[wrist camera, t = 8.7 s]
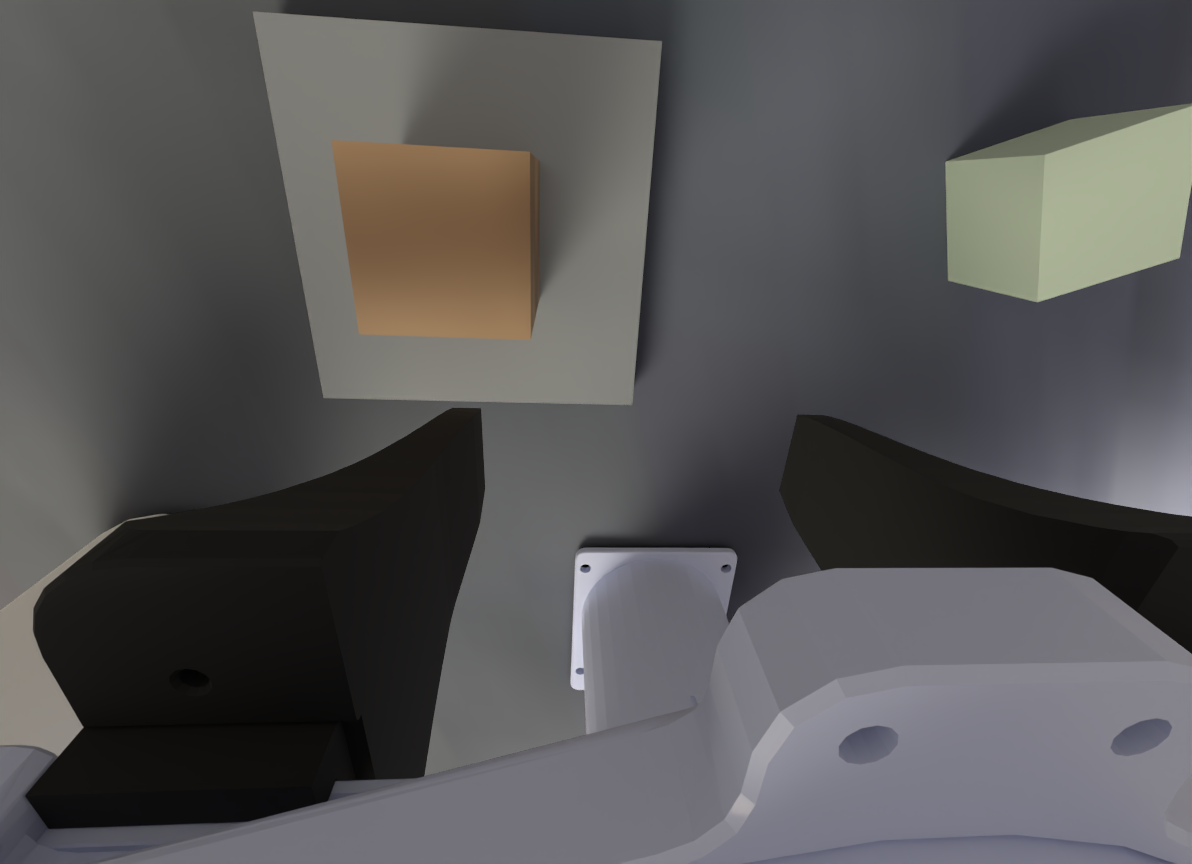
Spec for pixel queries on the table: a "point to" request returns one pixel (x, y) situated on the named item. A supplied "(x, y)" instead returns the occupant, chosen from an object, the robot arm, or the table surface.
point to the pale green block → (1071, 203)
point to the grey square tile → (482, 121)
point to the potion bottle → (34, 674)
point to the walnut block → (441, 239)
